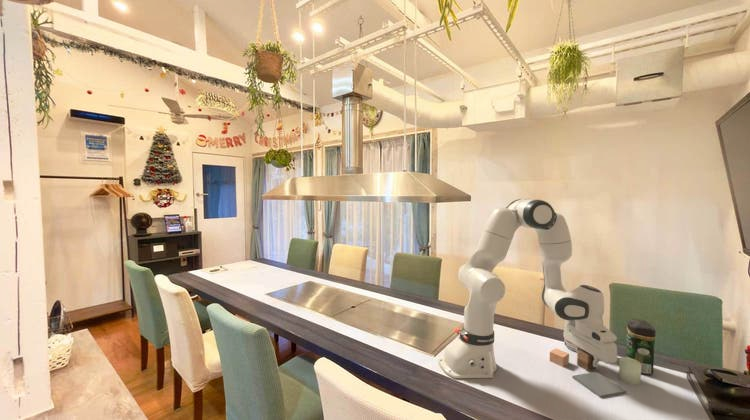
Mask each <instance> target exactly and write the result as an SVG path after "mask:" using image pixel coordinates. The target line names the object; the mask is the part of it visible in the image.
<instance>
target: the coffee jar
mask: <svg viewBox="0 0 750 420" xmlns="http://www.w3.org/2000/svg"><path fill="white" fill-rule="evenodd" d="M626 327H627V328H626V341H625V342H626V344H625V345H626V346H625V357H628V358H632V359H635V360H637V361H639V362H640V363H641V375H653V374H654V366H655V365H654V361H655V360H654V359H655V344H656V343H655V340H656V328H654V326H653V325H652V324H650V323H649V322H647V321H646V320H644V319H637V318H632V319H628V321H627V325H626Z"/></svg>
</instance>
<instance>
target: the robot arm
mask: <svg viewBox="0 0 750 420" xmlns="http://www.w3.org/2000/svg"><path fill="white" fill-rule="evenodd" d="M520 227H523V228H528V229H529V228H530V229H532V228H533V229H534V230H535V232H536V234H537V241H538V247H539V253H540V255H541V261H542V271H543V282H544V285H543V289H542V292H541V300H542V302H543V304H544V305H545V306H546V307H547V308H549V309H550V310H551V312H553V313H554V314H556V316H557V317H559V318H560V319H562V320H564V321H565V320H566V325H564V329H563V335H562V336H563V338H564V341H565V340H567V341H569V342H571V343H572V344H574V345H575V349H576V351H577V352H576V351H575V352H576V354H577V355H576V358H577V357H578V350H581V349H583V350H584V351H586V352H588V353H590V354H591V355H593V358H594V360H593V361H591V365H592V366H593V367H597V368H598V366H599V362H600V361H602V362H604V363H605V364H608V365H610V364H611V365H612V364H615V363H617V361H618V347H617V343H616V341H617V339H618V337H617V335H616V334H614V333H613V332H612V331H611V330H609V329H608V328H607V327H606V326H605V325H604V319H603V315H604V314H605V298H604V294H603V292H602V291H601V290H600V289H598V288H596V287H594V286H591V285H586V284H580V285H579V286H578V287H575V289H572V290H570V291H567V290H566V288H565V287H564V286H563V284H562V283H563V282H562V274H561V266H562V264H563V263H566V262H567V261H568V260H570V258H571V257H572V254H573V243H572V239H571V232H570V230H569V226H568V223H567V221H566V218H565V216H564V215H562V214H561V213H559V212H556V211H555V209H554V208H553V206H552V205H551V203H549V202H547V201H545V200H542V199H533V198H523V199H521V198H520V199H515V200H513V201H511V202H510V203H509V204H508V205H507V206H506V207H498V208H495V209H494V210H493V211H492V213H491V214H490V216H489V218H488V219H487V221H486V223H485V225H484V228H483V230H482V232H481V235H480V238H479V240H478V243H477V245H476V248H475V249H474V251H473V252H472V254H471V256H470V257H469V259H467V261H466V263H464V264H463V265H461V266H460V267H459V269H458V271H457V276H458V280H459V282H460V284H461V285H462V287H464V288H465V289H466V290H467V291H468V292H469V300H468V303H467V305H465V307H464V310H463V326H462V329H460V328H459V327H457V326H456V327H455V328H454V332H455V333H456V334H457V335H458V337H456V339H454V340H452V342H450V343H449V344H447V345H446V347H445V349H444V354H443V355H439V356H438V358H437V359H438V360H437V363H438V365H439V367H440V368H441V369H442V371H444V373H445V374H446V375H448V376H449V377H451V378H452V379H493V378H494V373H495V372H496V371H497V368H498V365H497V362H496V357H495V351H494V343H495V330H494V320H495V311H496V308H497V304H498V303H499V302H500V301H501V300H503V298H504V297H505V294H506V286H505V283H504V281H502V279H501V278H500V277H499V276H498V275H497V274H496V273H494V272H493V271H494V269H495V268H496V267H497V266H498V264H500V263H501V262H503V261H504V260H505V259H506V257H507V255H508V252H509V251H510V250H509V249H510V246H511V244H512V242H513V238H514V236H515V233H516V232H517V230H518V229H519V228H520ZM574 320H576V321H574Z"/></svg>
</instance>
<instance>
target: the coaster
mask: <svg viewBox="0 0 750 420" xmlns="http://www.w3.org/2000/svg"><path fill="white" fill-rule="evenodd" d="M572 379H573V380H574V381H576V382H577V383H579V384H580V385H582V387H585V388H586V389H587V390H589V391H590V392H592V393H593V394H594V395H596V396H597V397H599V398H606V397H611V396H617V395H623V394H627V390H626V389H624V388H623V387H621V386H620V385H618V384H617V383H615V382H613V381H612V380H610V379H609V378H607V377H606V376H604V375H603V374H601V373H599V372H597V371H594V372H587V373H582V374H581V373H580V374H576V375H572Z"/></svg>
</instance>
